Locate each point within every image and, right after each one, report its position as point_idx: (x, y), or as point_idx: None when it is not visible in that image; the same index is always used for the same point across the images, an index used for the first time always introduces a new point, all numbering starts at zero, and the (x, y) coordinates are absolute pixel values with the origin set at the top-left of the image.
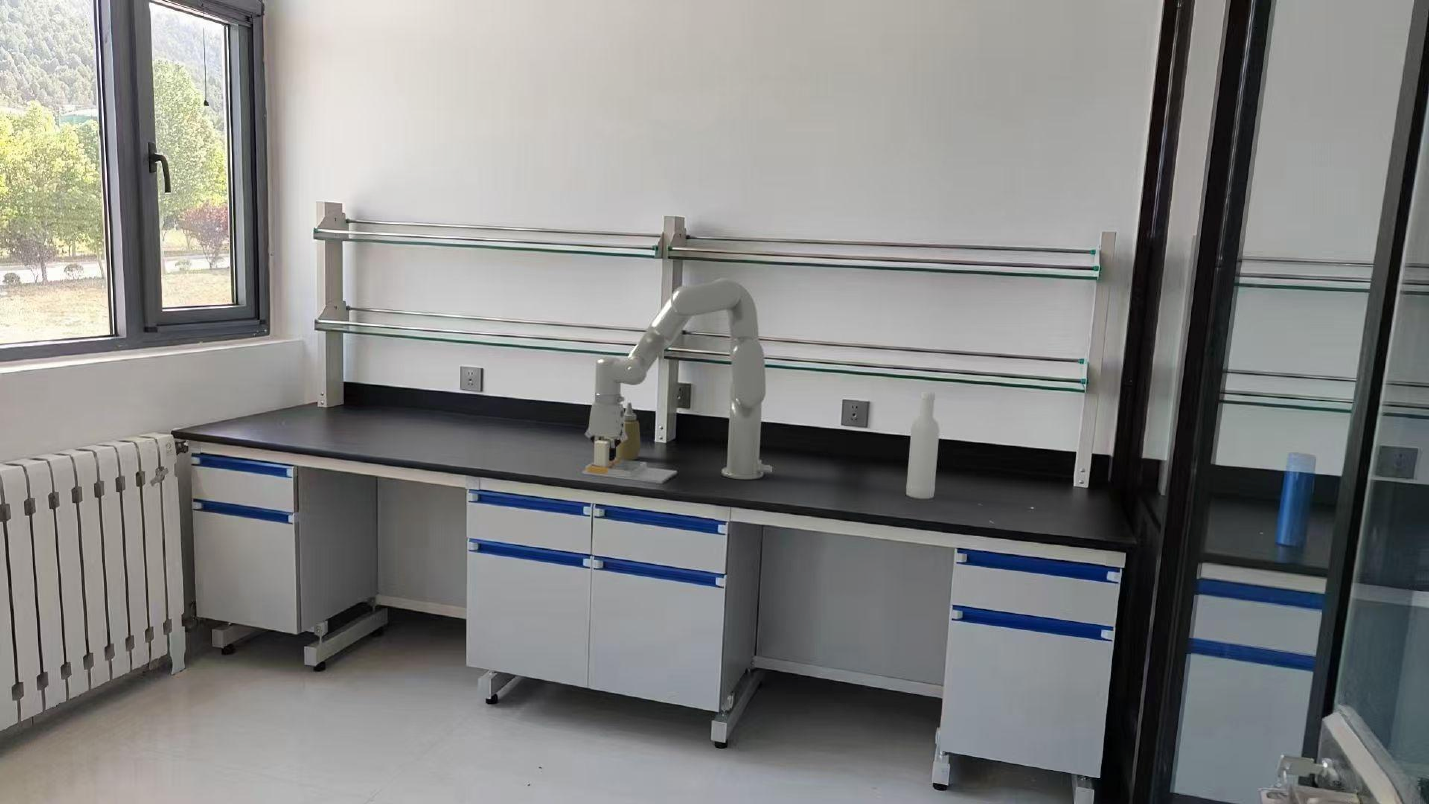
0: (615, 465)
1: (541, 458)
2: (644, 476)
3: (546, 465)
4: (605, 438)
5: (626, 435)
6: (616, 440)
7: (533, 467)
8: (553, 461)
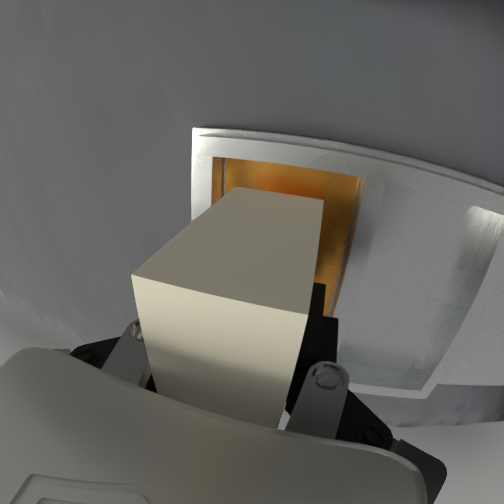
0: (344, 327)
1: (5, 149)
2: (477, 360)
3: (48, 236)
4: (174, 370)
5: (431, 501)
6: (326, 427)
7: (44, 271)
8: (35, 169)
